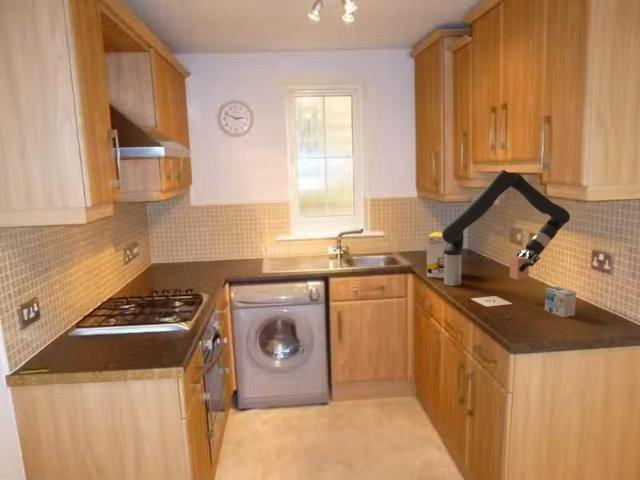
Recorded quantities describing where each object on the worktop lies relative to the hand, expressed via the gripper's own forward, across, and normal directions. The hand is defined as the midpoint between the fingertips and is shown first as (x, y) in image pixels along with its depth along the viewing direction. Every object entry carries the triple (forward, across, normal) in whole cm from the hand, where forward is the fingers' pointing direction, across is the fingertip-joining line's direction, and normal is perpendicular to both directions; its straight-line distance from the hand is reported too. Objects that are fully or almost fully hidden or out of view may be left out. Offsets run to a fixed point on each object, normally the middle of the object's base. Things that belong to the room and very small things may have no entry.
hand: (516, 269), depth 225 cm
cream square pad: (+20, -1, +2) cm, 20 cm away
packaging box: (+16, -60, +6) cm, 63 cm away
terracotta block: (+2, 0, +4) cm, 5 cm away
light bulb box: (+7, +23, +16) cm, 28 cm away
